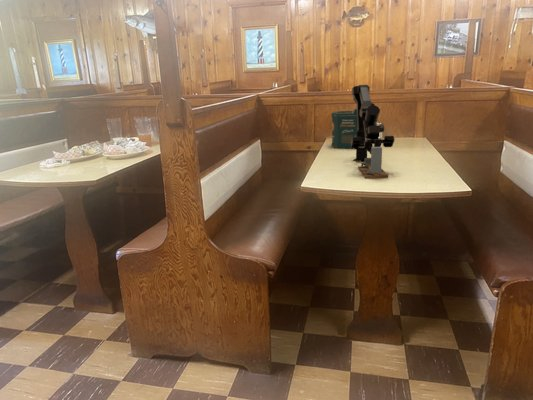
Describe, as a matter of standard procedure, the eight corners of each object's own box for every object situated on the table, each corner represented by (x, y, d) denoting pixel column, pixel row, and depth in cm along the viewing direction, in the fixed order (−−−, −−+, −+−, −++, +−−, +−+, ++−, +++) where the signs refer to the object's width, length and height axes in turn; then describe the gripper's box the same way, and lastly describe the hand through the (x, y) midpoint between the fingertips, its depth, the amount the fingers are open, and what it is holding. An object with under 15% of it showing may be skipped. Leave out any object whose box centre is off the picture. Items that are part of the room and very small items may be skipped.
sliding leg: (366, 172, 193) (367, 147, 190) (379, 172, 193) (380, 146, 189) (368, 174, 190) (368, 148, 187) (381, 174, 190) (382, 147, 187)
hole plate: (357, 168, 209) (358, 158, 207) (378, 168, 208) (379, 157, 207) (365, 178, 190) (365, 167, 189) (388, 177, 190) (388, 166, 188)
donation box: (357, 149, 258) (358, 101, 250) (330, 148, 263) (330, 101, 255) (360, 144, 272) (361, 98, 264) (334, 144, 277) (334, 99, 269)
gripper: (352, 118, 194) (355, 147, 186) (394, 117, 193) (399, 146, 186) (349, 133, 204) (352, 161, 196) (389, 132, 203) (394, 160, 195)
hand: (374, 157), depth 193 cm, fingers closed
